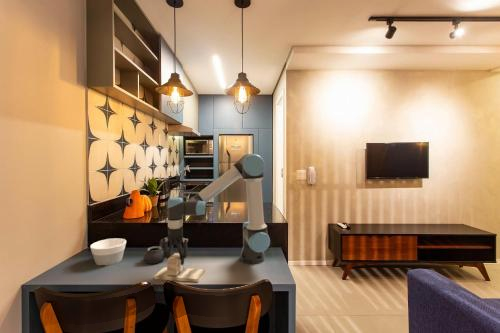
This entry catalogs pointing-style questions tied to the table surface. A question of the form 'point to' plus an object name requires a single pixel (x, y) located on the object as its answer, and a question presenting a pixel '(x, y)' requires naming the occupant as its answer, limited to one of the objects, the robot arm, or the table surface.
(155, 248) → the teapot
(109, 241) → the bowl
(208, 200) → the robot arm
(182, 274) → the board
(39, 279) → the table surface
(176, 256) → the sanding block
